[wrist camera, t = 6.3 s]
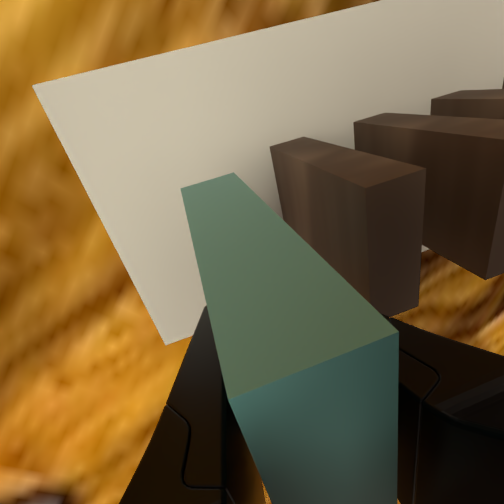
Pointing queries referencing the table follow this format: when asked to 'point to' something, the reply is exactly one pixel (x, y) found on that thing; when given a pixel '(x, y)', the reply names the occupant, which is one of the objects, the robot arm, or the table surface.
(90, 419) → the table surface
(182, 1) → the table surface
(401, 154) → the domino
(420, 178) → the domino
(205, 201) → the domino
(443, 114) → the domino
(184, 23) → the table surface
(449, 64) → the mat
